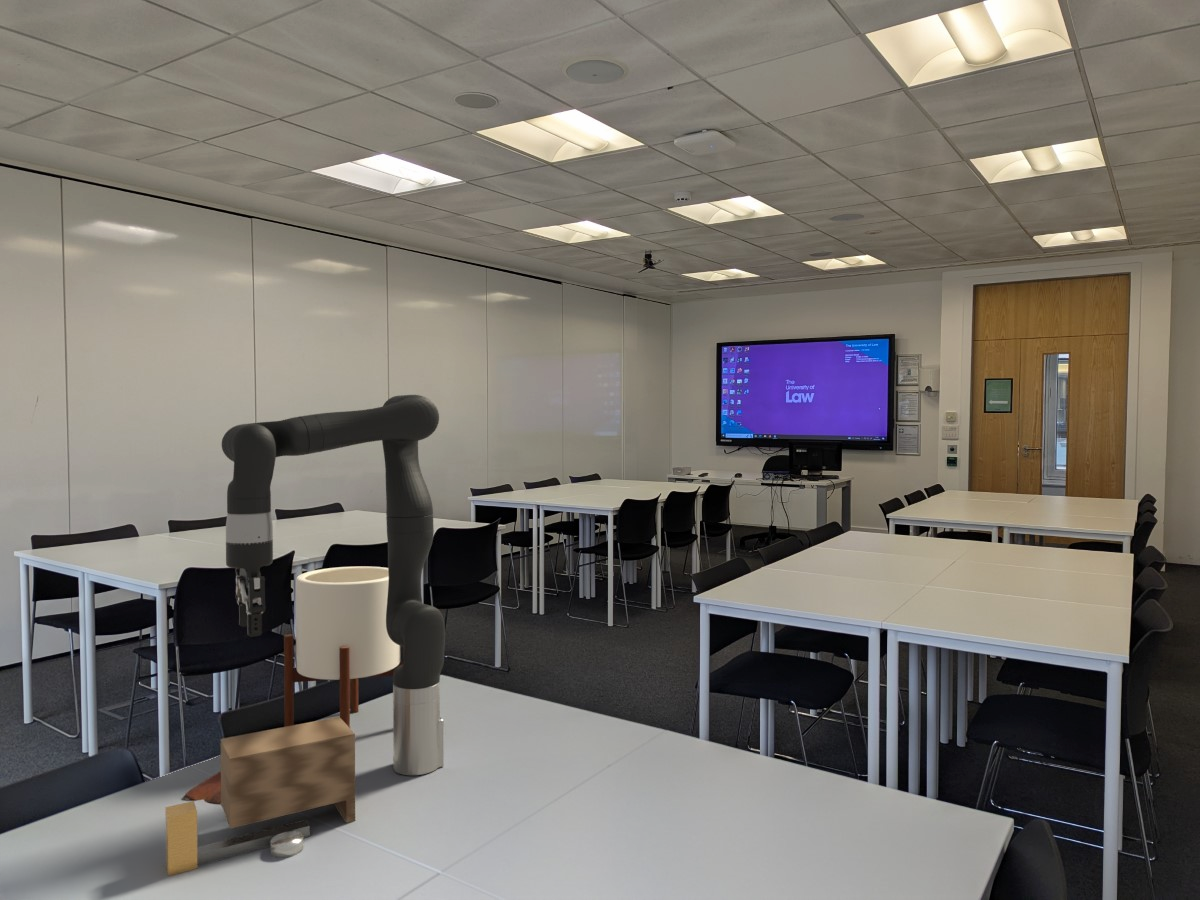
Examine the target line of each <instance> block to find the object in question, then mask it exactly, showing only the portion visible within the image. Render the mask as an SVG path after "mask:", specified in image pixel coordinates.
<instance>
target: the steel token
mask: <svg viewBox="0 0 1200 900" xmlns="http://www.w3.org/2000/svg"><path fill="white" fill-rule="evenodd" d="M304 840H305V839H304V836H303V834H302V833H301V832H297V831H288V832H283V833H280V834H278V835H276V836H274V837H273V838H272V839H271V847H270V855H271V857H272V858H277V859H286V858H287V859H288V858H291V857H294V856H297V855H298V854H300V853H301V852H302V851H303V850H304V848H305V847H304V846H305V845H304V843H305V842H304Z"/></svg>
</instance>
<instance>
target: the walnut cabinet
mask: <svg viewBox="0 0 1200 900" xmlns="http://www.w3.org/2000/svg"><path fill="white" fill-rule="evenodd" d="M220 771H221V804H220V805H221V808H222V811H223V813H224V815H225V818H226V821H227V824H228V826H229V829H230V830H231V829H234V828H238V827H243V826H246V825H250V824H255V823H258V822H263V821H267V820H270V819H271V820H272V819H275V818H279V817H282V816H287V815H292V814H296V813H299V812H305V811H308V810H311V809H317V808H319V807H320V808H321V807H324V806H328V805H332V804H333V805H334V807H335V808H336V809H337V811H338V813H339V814H340V815H341V817H342V819H343V820H344V822H345V823H346V824H348V823H351V822H352V823H353V822H355V821H356V733H355V731H353V730H352V729H351V727H350V728H349V727H348V726H347V724H346V723H345V722H344V721H343V720H342V719H341V718H340V716H336V717H335V716H334V717H330V718H325V719H319V720H315V721H309V722H304V723H299V724H294V725H292V726H287V727H285V726H283V727H277V728H272V729H267V730H261V731H256V732H250V733H245V734H239V735H235V736H228V737H223V738H220Z"/></svg>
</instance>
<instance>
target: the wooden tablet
mask: <svg viewBox="0 0 1200 900" xmlns="http://www.w3.org/2000/svg"><path fill="white" fill-rule="evenodd" d="M183 799H184V800H185V801H194V802H195V801H203V800H204V802H206V803H209V804H213V805H215V804H216V805H221V770H220V771H219V772H217V773H215V774H213V775H211V776H210V777H208V778H206V779H205V780H204V781H202V782H200V783H199V784H197V785H195V786H193V788H191V789H190V790H188V791H187V792H185V794H184V795H183Z"/></svg>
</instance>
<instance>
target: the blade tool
mask: <svg viewBox="0 0 1200 900" xmlns="http://www.w3.org/2000/svg"><path fill="white" fill-rule="evenodd" d="M164 811H165V814H164V815H165V867H166V871H167V872H166V873H167V876H168V877H171V876H173V875H178V874H181V873H184V872H188V871H191V870H196V869H198V867H199V866H201V865H206V864H210V863H213V862H216V861H220V860H225V859H228V858H232V857H236V856H240V855H243V854H248V853H252V852H255V851H259V850H262V849H266V848H271V839H272V838H273V837H274V836H276V835H278V834H280V833H283V832H288V831H297V832H301V833H302V834H303V836H304V838H308V837H309V838H310V835H311V834H310V825H309V823H308V821H307V819H303V820H299V821H295V822H292V823H287V824H283V825H279V826H275V827H272V828H268V829H264V830H259V831H256V832H251V833H248V834H244V835H239V836H236V837H232V838H227V839H223V840H220V841H215V842H212V843H207V844H205V845H204V844H203V845H199V846H198V809H197V807H196V804H195V801H194V800H190V801H187V802H183V803H179V804H175V805H170V806H166V807H165V810H164Z"/></svg>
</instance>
